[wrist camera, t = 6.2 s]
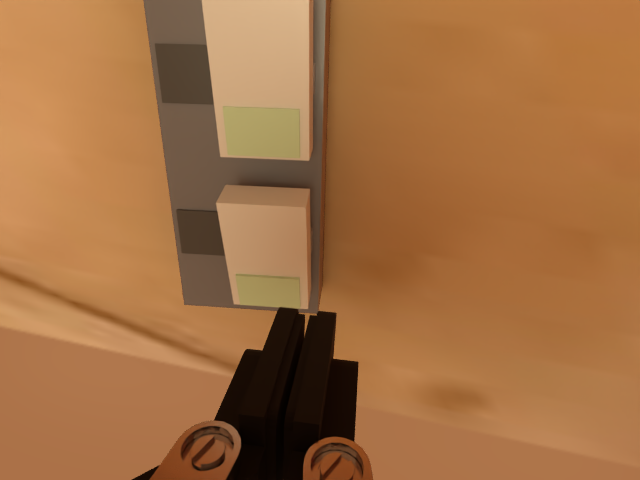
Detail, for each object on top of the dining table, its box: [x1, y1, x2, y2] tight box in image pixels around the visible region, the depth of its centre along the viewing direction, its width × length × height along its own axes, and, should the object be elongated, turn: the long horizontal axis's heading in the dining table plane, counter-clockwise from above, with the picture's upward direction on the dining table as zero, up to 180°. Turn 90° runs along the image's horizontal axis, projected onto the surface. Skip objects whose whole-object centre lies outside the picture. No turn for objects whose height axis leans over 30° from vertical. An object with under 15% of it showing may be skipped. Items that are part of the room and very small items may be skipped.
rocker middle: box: [202, 0, 313, 161], centre depth 22 cm, size 5×8×2 cm, turn 178°
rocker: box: [216, 185, 311, 309], centre depth 26 cm, size 5×8×2 cm, turn 179°
